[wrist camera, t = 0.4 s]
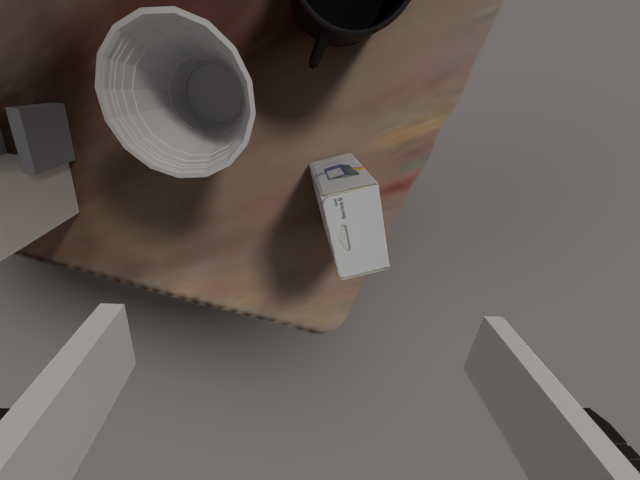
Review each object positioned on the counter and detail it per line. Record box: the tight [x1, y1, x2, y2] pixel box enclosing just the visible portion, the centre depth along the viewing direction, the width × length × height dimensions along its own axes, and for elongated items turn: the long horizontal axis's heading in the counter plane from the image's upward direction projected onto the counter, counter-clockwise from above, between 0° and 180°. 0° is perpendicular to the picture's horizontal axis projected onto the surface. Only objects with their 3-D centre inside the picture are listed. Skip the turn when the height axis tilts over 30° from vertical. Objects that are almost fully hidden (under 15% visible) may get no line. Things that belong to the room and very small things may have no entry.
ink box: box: [309, 153, 390, 280], centre depth 33 cm, size 9×5×12 cm, turn 13°
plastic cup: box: [95, 6, 256, 178], centre depth 27 cm, size 11×11×12 cm
